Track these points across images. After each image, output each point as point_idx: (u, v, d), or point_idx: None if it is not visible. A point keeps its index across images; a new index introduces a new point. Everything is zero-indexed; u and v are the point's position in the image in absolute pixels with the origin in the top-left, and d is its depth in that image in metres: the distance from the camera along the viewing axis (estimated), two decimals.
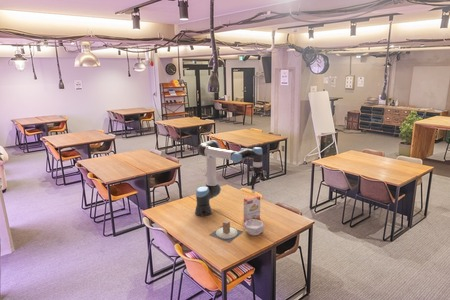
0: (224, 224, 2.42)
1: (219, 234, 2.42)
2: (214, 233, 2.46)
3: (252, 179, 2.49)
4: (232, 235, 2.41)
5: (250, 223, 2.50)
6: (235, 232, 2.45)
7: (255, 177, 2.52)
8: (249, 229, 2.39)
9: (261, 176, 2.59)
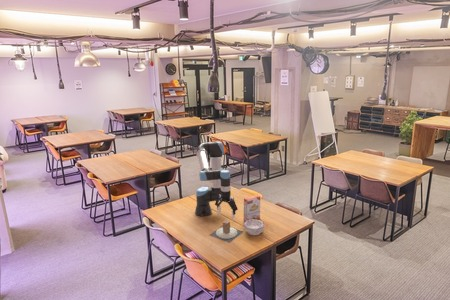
0: (224, 224, 2.42)
1: (219, 234, 2.42)
2: (214, 233, 2.46)
3: None
4: (232, 235, 2.41)
5: (250, 223, 2.50)
6: (235, 232, 2.45)
7: None
8: (249, 229, 2.39)
9: (229, 204, 2.36)
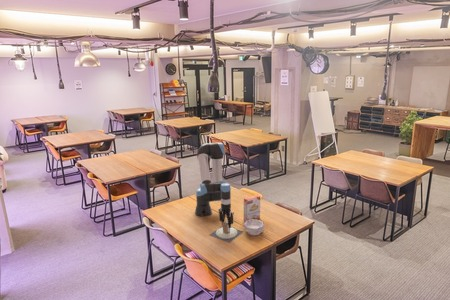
0: (224, 224, 2.42)
1: (219, 234, 2.42)
2: (214, 233, 2.46)
3: None
4: (232, 235, 2.41)
5: (250, 223, 2.50)
6: (235, 232, 2.45)
7: None
8: (249, 229, 2.39)
9: (227, 217, 2.40)
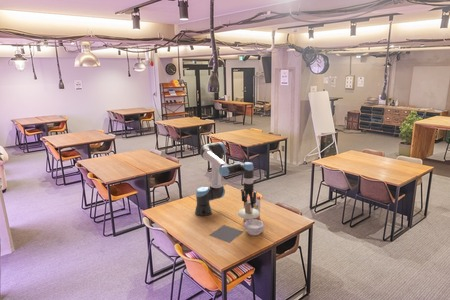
0: (246, 204, 2.39)
1: (241, 214, 2.39)
2: (214, 233, 2.46)
3: None
4: (255, 215, 2.37)
5: (250, 223, 2.50)
6: (257, 212, 2.41)
7: None
8: (249, 229, 2.39)
9: (250, 197, 2.36)
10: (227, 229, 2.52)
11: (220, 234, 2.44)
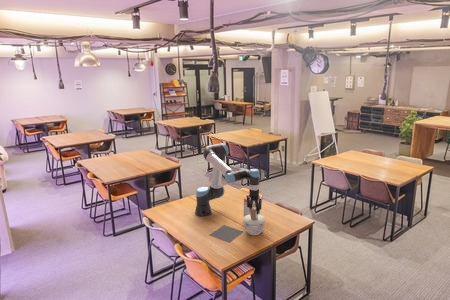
0: (252, 210, 2.41)
1: (247, 220, 2.41)
2: (214, 233, 2.46)
3: None
4: (260, 221, 2.39)
5: None
6: (263, 218, 2.43)
7: (251, 200, 2.41)
8: (249, 229, 2.39)
9: (255, 203, 2.38)
10: (227, 229, 2.52)
11: (220, 234, 2.44)
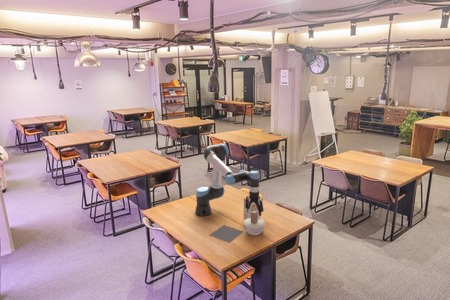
0: (252, 214, 2.42)
1: (247, 224, 2.42)
2: (214, 233, 2.46)
3: None
4: (260, 225, 2.40)
5: None
6: (263, 222, 2.44)
7: (250, 201, 2.42)
8: (249, 229, 2.39)
9: (257, 205, 2.38)
10: (227, 229, 2.52)
11: (220, 234, 2.44)
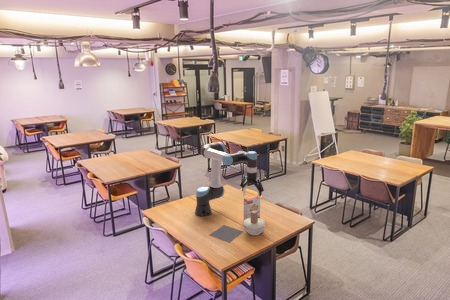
0: (252, 214, 2.42)
1: (247, 224, 2.42)
2: (214, 233, 2.46)
3: None
4: (260, 225, 2.40)
5: None
6: (263, 222, 2.44)
7: (247, 181, 2.40)
8: (249, 229, 2.39)
9: (255, 185, 2.35)
10: (227, 229, 2.52)
11: (220, 234, 2.44)
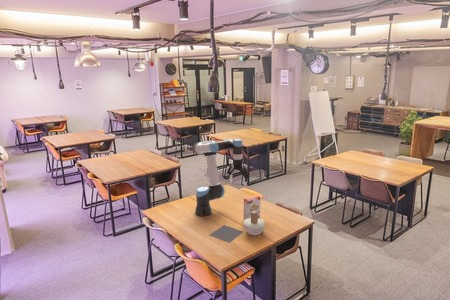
0: (252, 214, 2.42)
1: (247, 224, 2.42)
2: (214, 233, 2.46)
3: None
4: (260, 225, 2.40)
5: None
6: (263, 222, 2.44)
7: (233, 168, 2.49)
8: (249, 229, 2.39)
9: (241, 172, 2.44)
10: (227, 229, 2.52)
11: (220, 234, 2.44)
